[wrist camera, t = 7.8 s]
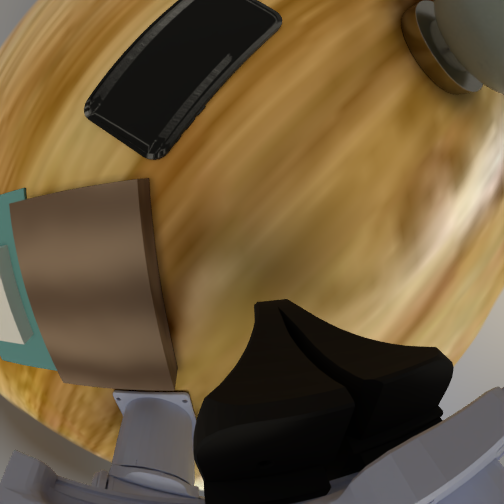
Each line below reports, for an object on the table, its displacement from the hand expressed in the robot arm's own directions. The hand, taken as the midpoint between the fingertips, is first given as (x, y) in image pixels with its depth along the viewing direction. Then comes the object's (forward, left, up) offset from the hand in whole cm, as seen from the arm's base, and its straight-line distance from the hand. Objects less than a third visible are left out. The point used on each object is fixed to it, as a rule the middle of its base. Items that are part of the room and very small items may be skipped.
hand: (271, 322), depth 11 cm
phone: (+15, +4, -10) cm, 18 cm away
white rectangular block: (-2, +24, -8) cm, 26 cm away
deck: (-2, +12, -9) cm, 15 cm away
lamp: (+21, -21, -10) cm, 31 cm away
